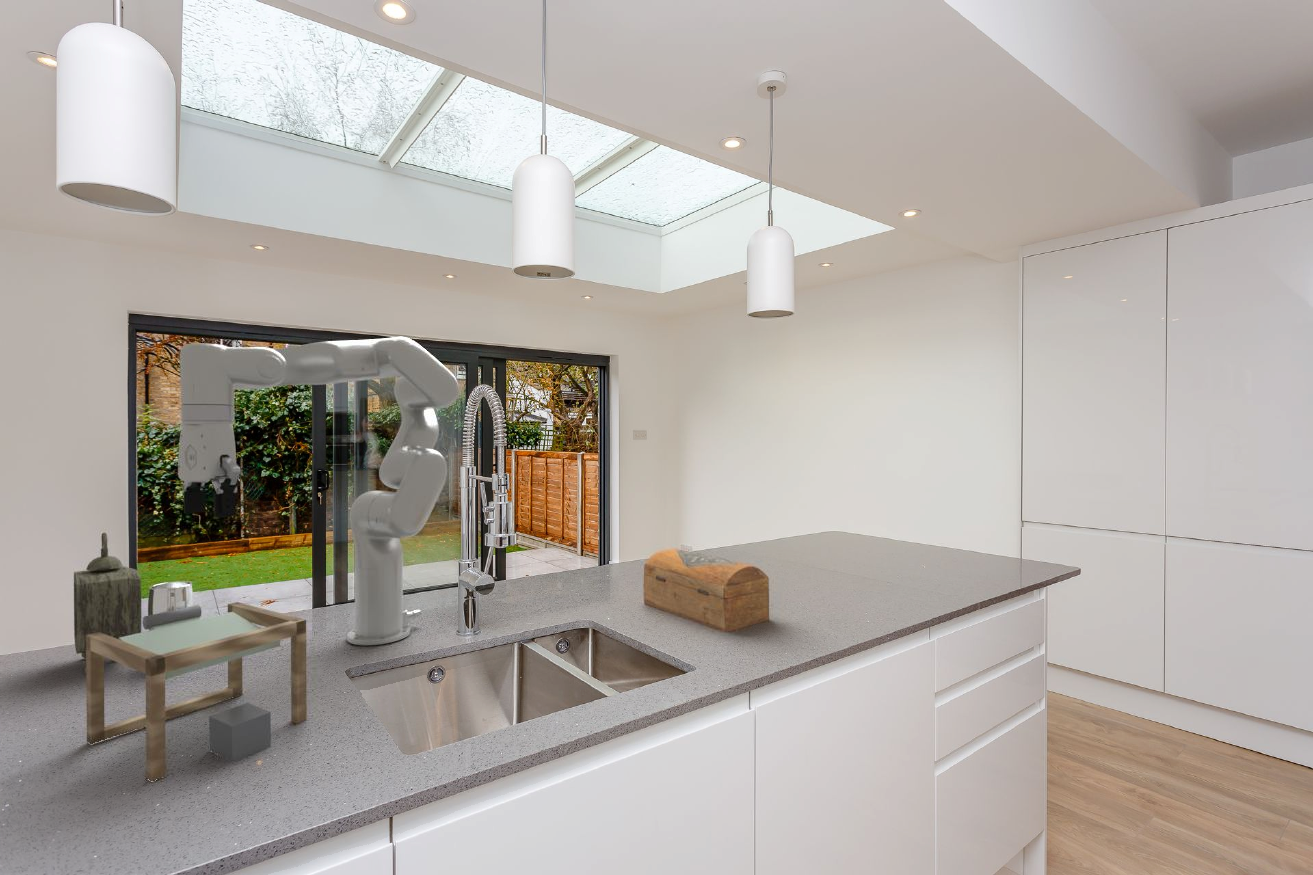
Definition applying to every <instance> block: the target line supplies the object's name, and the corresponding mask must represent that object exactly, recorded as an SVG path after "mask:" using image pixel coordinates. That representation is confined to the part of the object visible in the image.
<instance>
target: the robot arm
mask: <svg viewBox="0 0 1313 875" xmlns="http://www.w3.org/2000/svg"><path fill="white" fill-rule="evenodd" d="M179 354H180V355H179V364H180V365H179V369H180V370H179V372H180V376H179V377H180V378H179V379H180V380H179V381H180V425H181V429H180V436H179V442H178V443H179V444H178V465H177V476H178V478H179V479H180V480H181V482H182V486H181V488H182V491H183V513H184V514H185V515H192V514H200V513H205V512H206V511H207V505H206V504H207V503H206V502H207V501H206V500H207V499H206V498H207V496H206V493H207V491H206V489H204V487H205V484H206V483H209V482H210V481H211V483H212V486H213V488H214V490H215V492H216V493H213V517H214V518H216V519H219V518H227V517H235V516H236V515H237V503H236V502H237V496H236V493H237V492H238V487H237V486H238V485H239V482H240V480H239V478H240V474H241V467H240V466H239V465H238V464H237V452H236V440H235V433H234V427H233V425H235V390H238V391H245V390H263V389H269V388H273V387H285V386H297V385H298V386H299V385H300V386H301V385H309V386H311V385H313V386H314V385H315V386H320V385H321V386H322V385H332V384H342V383H351V382H352V383H354V382H360V381H361V382H362V381H369V380H370V381H373V380H380V379H388V378H389V379H391V378H397V380H396V381H395V384H394V388H393V392H394V397H395V400H396V402H397V405H398V407H399V410H400V415H401V423H400V427H399V429H398V431H397V433H396V436H395V438H394V439H393V441H392V443H391V445H390V447H389V448H388V451H387V452H386V454H385V455H384V457H383V460H382V462H381V464H380V467H379V470H378V475H379V476H378V477H379V480H380V481H381V482H382V484H384V485H385V486H386V487H388V488H390V489H395V490H396V491H389V490H370V491H366V492H363V493H362V494H360V495H358V497H357V498H355V500H354V501H353V503H352V506H351V507H350V510H349V522H350V528H351V532H352V537H353V546H354V547H353V548H354V621H355V622H354V629H352V630H350V631H349V632H347V635H346V641H347V642H348V643H349V644H352V645H355V646H377V645H378V646H379V645H385V644H390V643H394V642H398V641H400V640H403V639H405V638H407V637H408V636H409V635H410V633H411V627H410V626H409V625H408V623H409V622H410V621H412V620H416V619H419V618H421V616H422V611H421V610H420V609H419V608H418V609H415V610H411V611H408V610H407V609H406V610H404V608H403V607H404V598H403V597H404V591H403V590H404V586H403V585H404V583H403V582H404V576H403V573H404V572H403V571H404V570H403V569H404V555H403V554H404V553H403V548H402V547H403V546H402V542H401V539H409V538H412V537H414V536H416V535H417V534H418V533H419V532H421V531H422V529H423V528H424V526H425V525H426V524H427V521H428V519H429V518H430V516H431V514H432V511H433V510H434V508H435V505H436V503H437V501H438V499H439V497H440V495H441V493H442V491H443V489H444V486H445V483H446V480H447V477H448V464H447V461H446V459H445V457H444V456H443V455H442V454H441V452H439V451H438V450H436V449H434V448H435V445H436V443H437V441H438V439H439V434H440V427H439V426H440V425H439V422H438V419H437V416H436V411H435V409H444V408H448V407H450V406H452V405H453V404H454V403H456V402H457V400H458V397H459V394H460V385H459V383H458V380H457V378H456V377H455V375H454V374H453V372H451V370H449V369H448V368H447V367H446V366H445V365H444V364H443V363H442V362H440V361H439V360H438V359H437V358H436V357H435V356H434V355H432V354H431V353H430V352H429V351H427V349H425V348H424V347H423V346H421V345H420V344H419V343H418V342H416V341H415V340H412V339H411V338H408V337H405V336H395V337H394V336H393V337H386V338H374V339H358V340H355V339H354V340H353V339H352V340H332V341H330V340H329V341H328V340H327V341H326V340H325V341H317V342H311V343H307V344H302V345H301V344H300V345H295V346H294V345H293V346H287V347H275V348H270V347H265V346H248V347H247V346H243V347H242V346H236V347H235V346H227V345H224V344H216V343H209V342H207V343H206V342H202V343H201V342H193V343H187V344H184V345H182V347H181V349H180V353H179ZM221 483H222V484H221Z"/></svg>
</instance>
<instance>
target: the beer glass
mask: <svg viewBox="0 0 1313 875" xmlns="http://www.w3.org/2000/svg"><path fill="white" fill-rule="evenodd" d="M148 589H149V590H148V597H147V616H148V615H153V614H158V613H162V612H167V611H172V610H177V609H181V608H186V607H191V606H195V605H194V604H195V603H194V591H193V582H192V581H189V580H176V581H168V582H163V583H162V582H161V583H156V584H153V585H151V586H149V588H148Z"/></svg>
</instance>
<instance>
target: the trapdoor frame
mask: <svg viewBox="0 0 1313 875" xmlns="http://www.w3.org/2000/svg"><path fill="white" fill-rule="evenodd" d="M229 612H234V613H235V614H237V615H239V616H240V617H242V618H244V619H246V620H247V621H249V622H251V623H252V624H254V625H257V626H261V627H263V628H261V629H258V630H254V631H250V632H246V633H242V634H238V635H235V636H231V637H227V638H223V639H219V640H215V641H212V642H208V643H204V644H200V645H196V646H192V647H188V648H185V649H181V650H177V651H173V652H169V653H165V654H161V655H158V654H155V653H153V652H150V651H148V650H145V649H142V648H140V647H137V646H134V645H132V644H129V643H127V642H124V641H121V640H119V639H116V638H113V637H111V636H108V635H106V634H103V633H100V632H98V633H93V634H88V635H86V658H85V660H86V661H85V667H86V672H85V673H86V674H85V677H86V678H85V679H86V681H85V682H86V686H85V687H86V690H85V691H86V693H85V694H86V743H87V742H89V743H90V744H93V743H95V742H99V741H101V740H105V739H107V738H111V737H113V736H117V735H120V734H124V733H127V732H131V731H133V730H135V729H139V730H141V729H140V728H142V727H145V726H146V727H145V751H146V753H145V756H146V757H145V758H146V760H145V764H146V766H145V767H146V770H145V771H146V774H145V775H146V776H145V777H146V778H147V779H149V780H150V781H154V782H156V781H155V780H156V779H159V780H161V779H160V778H162V777H164V778H166V777H165V776H166V774H167V773H166V772H167V771H166V769H167V768H166V766H167V765H166V762H167V761H166V751H167V750H166V721H168V720H167V719H169V720H172V719H175V718H177V717H176V716H178V717H180V715H181V716H183V715H182V714H184V715H186V714H190V713H193V712H195V710H196V711H199V710H201V708H202V709H204V708H206V707H210V706H213V705H216V704H220V703H221V702H220V701H222V702H225V701H227V700H226V699H228V700H230V699H229V698H231V699H233V698H232V697H234V698H236V696H237V697H239V696H238V695H240V696H242V695H243V657H241V658H237V659H234V660H230V661H227V687H224V688H221V689H218V690H215V691H212V692H209V693H206V694H203V695H199V696H196V697H193V698H190V699H187V700H184V701H180V702H177V703H175V704H171V705H169V706H166V679H165V672H169V671H172V670H176V669H179V668H183V667H187V666H190V665H194V664H197V663H201V662H204V661H208V660H211V659H215V658H219V657H222V656H226V655H229V654H233V653H236V652H240V651H243V650H247V649H250V648H254V647H258V646H261V645H265V644H268V643H272V642H275V641H279V640H280V641H282V640H284V639H285V640H286V639H289V638H290V676H291V677H290V680H291V681H290V689H291V690H290V693H291V694H290V697H291V698H290V709H291V710H290V712H291V713H290V714H291V716H290V718H291V719H290V720H291V722H292V723H294V724H297V725H298V724H300V723H302V722H305V721H307V720H308V716H307V711H308V709H307V704H308V703H307V702H308V701H307V697H308V696H307V692H308V690H307V619H304V618H301V617H297V616H292V615H288V614H286V613H282V612H277V611H273V610H270V609H265V608H261V607H258V606H253V605H250V604H246V603H242V602H239V601H236V602H231V603H227V613H229ZM105 658H107V659H109V660H112V661H113V662H115V663H117V664H120V665H123V666H125V667H128V668H130V669H133V670H134V671H137V672H139V673H142V674H144V675H145V713H143V714H141V715H138V716H135V717H132V718H128V719H125V720H122V721H118V722H116V723H112V724H109V725H106V726H105ZM224 700H225V701H224ZM189 712H190V713H189ZM174 717H175V718H174ZM171 718H172V719H171ZM165 720H166V721H165ZM142 729H143V728H142ZM131 733H132V732H131ZM147 779H146V780H147ZM162 779H163V778H162ZM149 780H148V781H149ZM150 781H149V782H150Z"/></svg>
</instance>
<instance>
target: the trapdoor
mask: <svg viewBox="0 0 1313 875" xmlns="http://www.w3.org/2000/svg"><path fill="white" fill-rule="evenodd" d="M202 612H203V611H202V607H201V606H200V604H196V605H194V606H191V607H186V608H181V609H177V610H172V611H167V612H162V613H158V614H153V615H148V614H147V615H144V616H143V618H142V626H143V629H144V630H148V631H141V633H137V634H133V635H129V636H124V637H120V638H119V640H121V641H124V642H127V643H129V644H132V645H134V646H137V647H140V648H142V649H145V650H148V651H150V652H153V653H155V654H158V655H161V654H165V653H169V652H173V651H177V650H181V649H185V648H188V647H192V646H196V645H200V644H204V643H208V642H212V641H215V640H219V639H223V638H227V637H231V636H235V635H238V634H242V633H246V632H250V631H254V630H258V629H262V628H261V627H259V626H258V625H257V624H254V623H251V622H249V621H247V620H246V619H244V618H242V617H240V616H239V615H237V614H235V613H234V612H229V613H228V612H225V613H221V614H216V615H211V616H208V617H204V618H201V617H202ZM280 644H281V640H279V641H275V642H272V643H268V644H265V645H261V646H258V647H254V648H250V649H247V650H243V651H240V652H236V653H233V654H229V655H226V656H222V657H219V658H215V659H211V660H208V661H204V662H201V663H197V664H194V665H190V666H187V667H183V668H179V669H176V670H172V671H169V672H165V680H169V679H171V678H174V677H179V676H182V675H185V674H189V673H192V672H195V671H199V670H202V669H207V668H209V667H212V666H215V665H220V664H223V663H226V662H227V663H228V661H230V660H234V659H237V658H241V657H242V658H243V657H247V656H250V655H255V654H257V653H261V652H265V651H267V650H272V649H275V648H278V647H280V646H281V645H280Z"/></svg>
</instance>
